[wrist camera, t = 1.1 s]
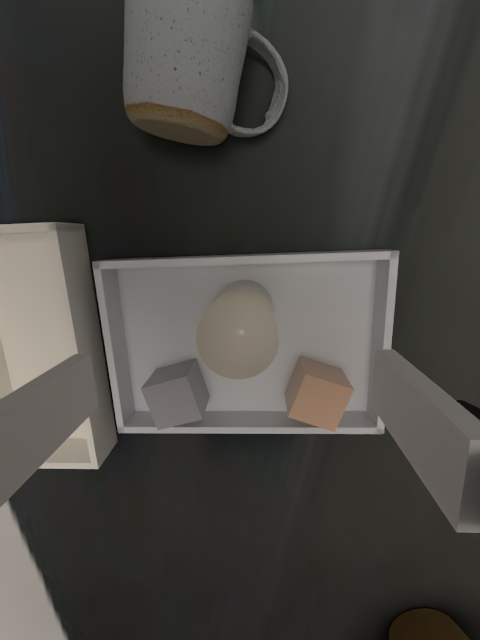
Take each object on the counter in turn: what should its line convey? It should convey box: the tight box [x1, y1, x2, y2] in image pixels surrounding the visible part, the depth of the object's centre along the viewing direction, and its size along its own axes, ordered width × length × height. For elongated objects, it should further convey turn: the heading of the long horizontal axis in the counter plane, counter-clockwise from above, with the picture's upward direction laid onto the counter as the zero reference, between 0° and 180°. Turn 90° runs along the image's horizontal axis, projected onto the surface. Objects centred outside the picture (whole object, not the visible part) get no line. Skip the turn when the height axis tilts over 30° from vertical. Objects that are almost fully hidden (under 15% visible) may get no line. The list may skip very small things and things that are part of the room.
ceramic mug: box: [123, 0, 288, 146], centre depth 21 cm, size 11×8×8 cm
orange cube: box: [284, 356, 354, 432], centre depth 27 cm, size 4×4×4 cm
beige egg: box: [196, 280, 279, 379], centre depth 24 cm, size 5×5×9 cm
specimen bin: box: [0, 222, 118, 469], centre depth 28 cm, size 21×10×4 cm, turn 2°
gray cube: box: [141, 358, 210, 430], centre depth 28 cm, size 4×4×4 cm
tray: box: [92, 249, 399, 434], centre depth 27 cm, size 15×23×3 cm, turn 92°
